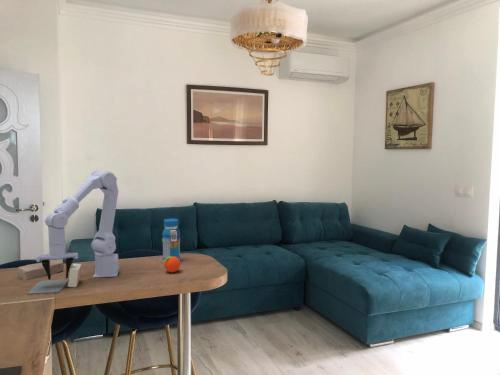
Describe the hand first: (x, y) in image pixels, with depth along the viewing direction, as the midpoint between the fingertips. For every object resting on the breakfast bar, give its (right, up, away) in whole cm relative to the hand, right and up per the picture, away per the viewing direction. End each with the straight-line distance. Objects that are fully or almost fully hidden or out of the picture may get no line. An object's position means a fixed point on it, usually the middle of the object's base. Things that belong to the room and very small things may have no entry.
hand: (58, 277), depth 162 cm
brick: (-15, -2, +17) cm, 23 cm away
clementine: (+40, -2, +20) cm, 45 cm away
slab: (+5, -3, +3) cm, 6 cm away
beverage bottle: (+37, 0, +38) cm, 53 cm away
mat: (-3, -3, 0) cm, 5 cm away
